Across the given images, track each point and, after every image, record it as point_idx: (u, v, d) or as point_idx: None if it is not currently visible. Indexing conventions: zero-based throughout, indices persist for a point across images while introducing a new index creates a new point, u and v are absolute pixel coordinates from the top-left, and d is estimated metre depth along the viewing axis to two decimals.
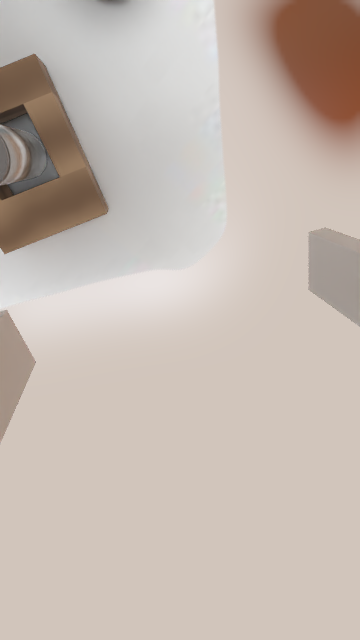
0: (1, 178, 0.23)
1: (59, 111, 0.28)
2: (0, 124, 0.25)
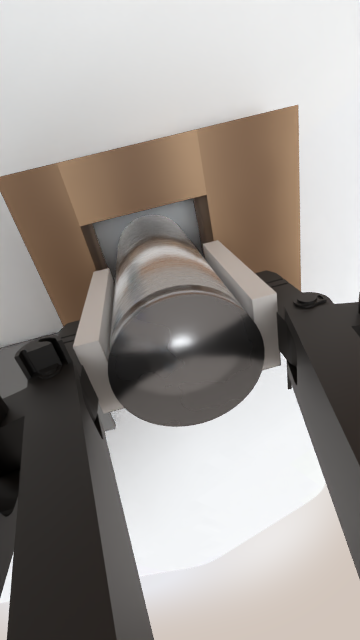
0: (253, 322, 0.09)
1: (90, 157, 0.14)
2: (117, 278, 0.13)
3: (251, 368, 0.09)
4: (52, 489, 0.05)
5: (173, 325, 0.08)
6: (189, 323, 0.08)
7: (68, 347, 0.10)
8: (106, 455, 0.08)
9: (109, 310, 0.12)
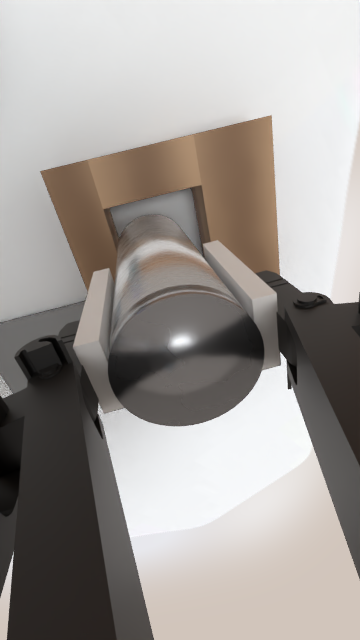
0: (252, 322, 0.09)
1: (112, 155, 0.18)
2: (117, 278, 0.13)
3: (251, 368, 0.09)
4: (52, 489, 0.05)
5: (173, 325, 0.08)
6: (189, 323, 0.08)
7: (68, 347, 0.10)
8: (106, 455, 0.08)
9: (109, 310, 0.12)
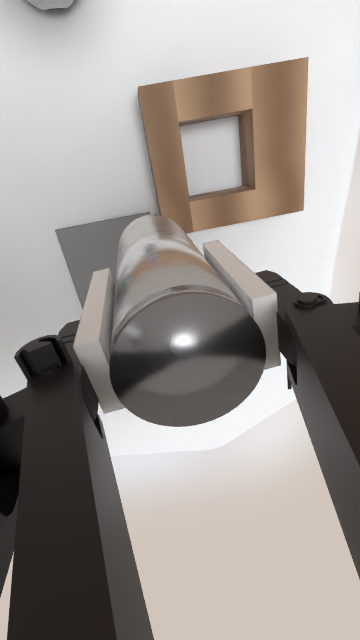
0: (254, 323, 0.09)
1: (191, 79, 0.24)
2: (118, 278, 0.13)
3: (252, 368, 0.09)
4: (52, 489, 0.05)
5: (175, 325, 0.08)
6: (191, 323, 0.08)
7: (68, 347, 0.10)
8: (106, 455, 0.08)
9: (109, 310, 0.12)
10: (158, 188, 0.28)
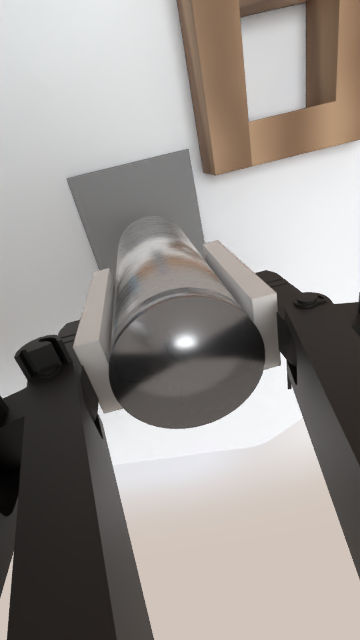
0: (253, 325, 0.09)
1: None
2: (117, 280, 0.13)
3: (252, 370, 0.09)
4: (52, 489, 0.05)
5: (174, 328, 0.08)
6: (190, 326, 0.08)
7: (68, 347, 0.10)
8: (106, 455, 0.08)
9: (109, 310, 0.12)
10: (208, 102, 0.20)
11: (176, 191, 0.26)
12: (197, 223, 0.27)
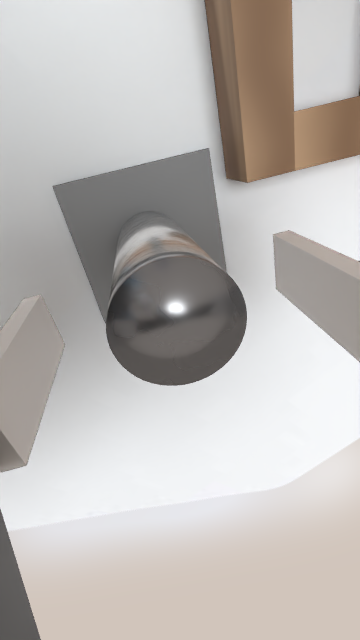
0: (234, 284, 0.10)
1: None
2: (116, 260, 0.14)
3: (235, 328, 0.10)
4: None
5: (163, 285, 0.09)
6: (177, 283, 0.09)
7: None
8: None
9: (23, 348, 0.10)
10: (241, 84, 0.15)
11: (192, 201, 0.20)
12: (217, 241, 0.22)
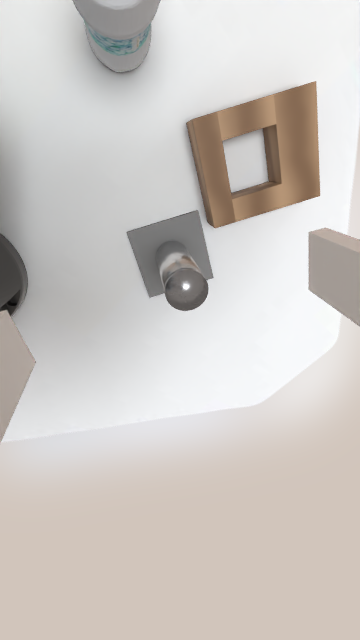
0: (203, 276, 0.32)
1: (230, 108, 0.33)
2: (162, 268, 0.36)
3: (204, 290, 0.32)
4: None
5: (181, 278, 0.31)
6: (186, 277, 0.31)
7: None
8: None
9: None
10: (208, 191, 0.37)
11: (191, 234, 0.42)
12: (205, 252, 0.44)
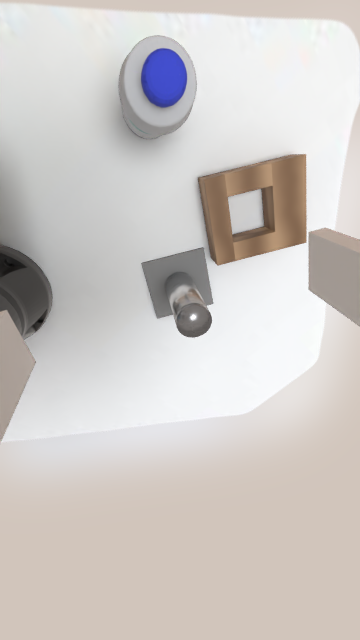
0: (208, 311, 0.39)
1: (235, 172, 0.40)
2: (172, 299, 0.43)
3: (208, 322, 0.39)
4: None
5: (190, 311, 0.38)
6: (194, 311, 0.38)
7: None
8: None
9: None
10: (214, 236, 0.44)
11: (196, 267, 0.49)
12: (207, 282, 0.51)
